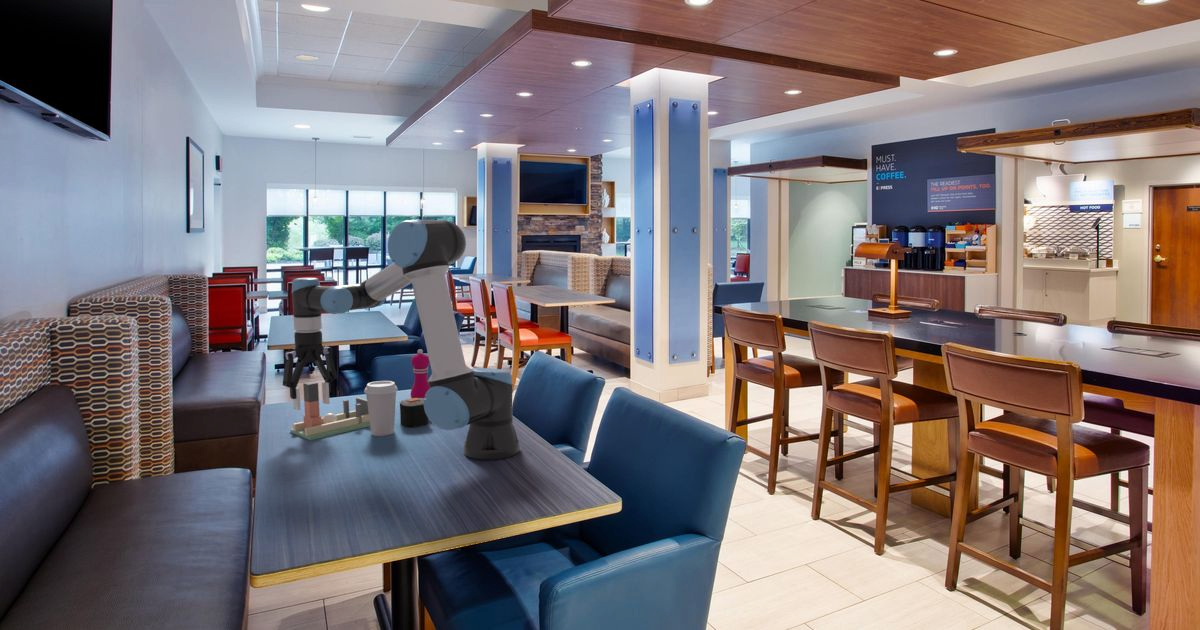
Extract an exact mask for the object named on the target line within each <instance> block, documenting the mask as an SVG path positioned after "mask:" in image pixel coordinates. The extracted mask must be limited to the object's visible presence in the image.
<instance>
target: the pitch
mask: <svg viewBox="0 0 1200 630" xmlns="http://www.w3.org/2000/svg"><path fill="white" fill-rule="evenodd" d="M349 401H350V400H348V399H343V400H342V402H343V403H342V404H343V405H342V406H343V412H342V413H337V414H335V415H336V417H337V421H335V422H331V423H326V424H324V423H323V417H324V416H323V417H322V416H321V420H322V425H317V426H313V427H308V428H305V429H304V420H303V421H300V422H295V423H292V428H290V429H289V430H290V433H291V434H294V435H296V436H299V437H301V438H304V439H306V440H309V441H314V440H318V439H322V438H325V437H330V436H334V435H339V434H342V433H347V432H352V431H356V430H359V429H365V428H368V427H370V419H369V412H368V404H367V398H363V397H355V410H350V403H349Z"/></svg>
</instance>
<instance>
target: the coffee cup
mask: <svg viewBox="0 0 1200 630" xmlns="http://www.w3.org/2000/svg"><path fill="white" fill-rule="evenodd" d="M398 391H399V388H398V387H397V385H396V384H395V381H392V380H376V381H371V382H368V383H367V384H366V387H365V388H364V390H363V392H364V394H365V396H366V399H367V404H368V412H369V419H370V426H369V427H370V433H371V435H372V436H375V437H383V436H390V435H392V434H394V432H395V417H396V401H397V400H396V399H397V392H398Z"/></svg>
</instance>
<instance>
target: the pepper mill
mask: <svg viewBox="0 0 1200 630" xmlns="http://www.w3.org/2000/svg"><path fill="white" fill-rule="evenodd" d="M423 352H424V350H423V349H422V348H421V349H420V348H419V349H418V350H417V353H416V354H414V355H413V356H412V358H411V361H410V362H411V365H412V367H413V369H412V370H413V371H412V372H413V374H414V383H413V384H412V385H413V386H412V387H411V390H410V398H412V399H413V398H418V399H419V398H422V399H423V398H425V394H426V393H427V391H428V390H429V389H430V388H429V383H428V372H429V365H430V360H429V356H428V354H425V353H423Z"/></svg>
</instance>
